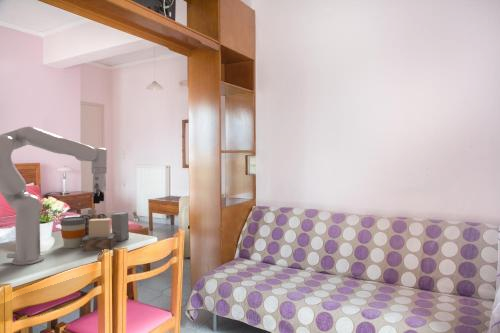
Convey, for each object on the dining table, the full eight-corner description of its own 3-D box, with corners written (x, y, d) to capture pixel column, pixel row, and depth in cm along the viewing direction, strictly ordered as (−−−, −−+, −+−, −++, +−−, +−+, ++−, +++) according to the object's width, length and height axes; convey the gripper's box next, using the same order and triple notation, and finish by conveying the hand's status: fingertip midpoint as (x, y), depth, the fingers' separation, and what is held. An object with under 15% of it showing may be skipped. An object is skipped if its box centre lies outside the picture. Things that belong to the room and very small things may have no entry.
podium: (81, 250, 174) (81, 239, 174) (88, 244, 187) (88, 233, 187) (112, 249, 177) (112, 238, 177) (116, 243, 190) (116, 232, 190)
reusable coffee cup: (91, 243, 190) (90, 217, 189) (75, 249, 177) (75, 221, 177) (71, 242, 192) (71, 216, 192) (55, 247, 180) (54, 220, 180)
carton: (110, 234, 185) (110, 218, 185) (108, 236, 181) (108, 220, 180) (91, 235, 183) (91, 219, 183) (88, 237, 179) (88, 220, 178)
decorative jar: (76, 241, 194) (76, 210, 193) (90, 236, 205) (90, 207, 205) (94, 242, 191) (94, 211, 190) (107, 237, 202) (107, 208, 202)
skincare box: (121, 241, 193) (121, 214, 193) (110, 241, 195) (110, 214, 194) (129, 238, 202) (129, 212, 201) (119, 237, 203) (118, 211, 203)
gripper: (102, 171, 173) (102, 204, 173) (109, 170, 190) (109, 200, 190) (87, 171, 172) (86, 204, 172) (95, 170, 188) (95, 200, 189)
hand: (98, 202), depth 181 cm, fingers open, 9 cm apart
